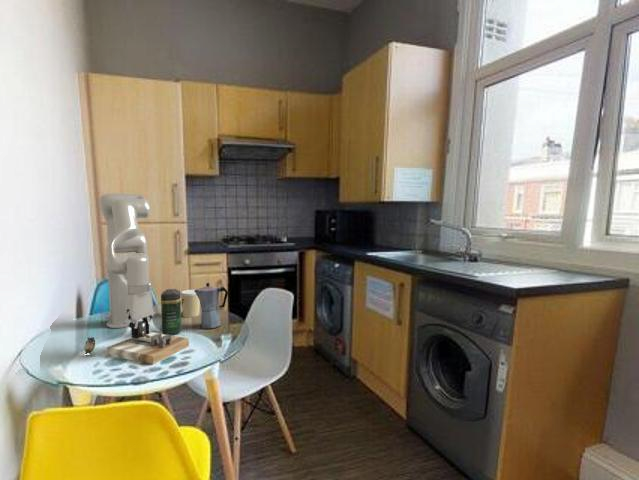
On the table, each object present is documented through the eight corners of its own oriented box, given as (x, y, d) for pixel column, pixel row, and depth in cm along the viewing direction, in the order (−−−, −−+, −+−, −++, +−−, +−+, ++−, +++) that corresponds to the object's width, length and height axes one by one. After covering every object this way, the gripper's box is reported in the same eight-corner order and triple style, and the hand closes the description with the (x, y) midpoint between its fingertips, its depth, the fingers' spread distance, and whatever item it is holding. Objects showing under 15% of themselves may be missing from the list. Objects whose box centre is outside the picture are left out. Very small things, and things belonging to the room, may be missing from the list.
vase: (85, 351, 137) (86, 335, 137) (100, 351, 138) (101, 336, 138) (77, 356, 132) (78, 340, 132) (93, 357, 133) (94, 341, 132)
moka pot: (197, 322, 171) (196, 280, 169) (230, 322, 172) (229, 280, 170) (191, 329, 161) (190, 285, 159) (227, 329, 163) (226, 285, 161)
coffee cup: (184, 312, 187) (183, 289, 186) (202, 312, 188) (202, 289, 187) (179, 318, 178) (178, 294, 177) (198, 317, 179) (198, 293, 178)
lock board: (107, 355, 134) (106, 338, 133) (146, 338, 151) (146, 323, 150) (153, 364, 126) (152, 346, 126) (188, 345, 143) (188, 330, 142)
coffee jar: (181, 334, 155) (180, 292, 153) (161, 336, 153) (159, 293, 151) (182, 327, 164) (180, 287, 163) (163, 329, 162) (161, 288, 160)
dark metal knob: (130, 340, 139) (129, 323, 138) (139, 336, 142) (138, 320, 142) (157, 344, 134) (156, 327, 134) (165, 341, 138) (164, 324, 137)
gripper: (148, 283, 147) (150, 327, 149) (111, 292, 131) (114, 342, 133) (163, 285, 144) (164, 330, 146) (127, 294, 129) (129, 344, 130)
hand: (140, 335), depth 139 cm, fingers closed on dark metal knob, 4 cm apart
